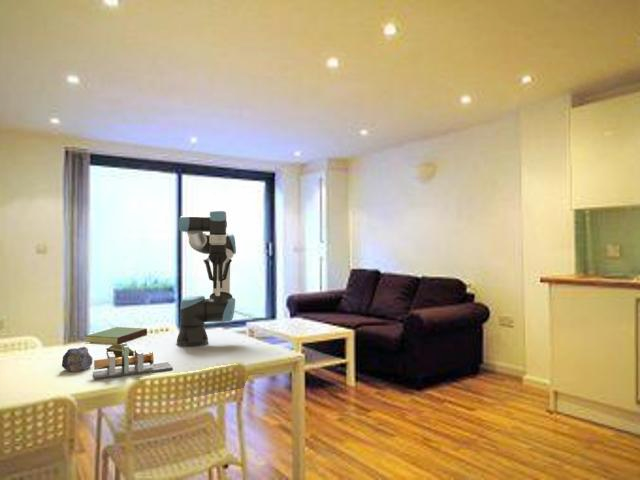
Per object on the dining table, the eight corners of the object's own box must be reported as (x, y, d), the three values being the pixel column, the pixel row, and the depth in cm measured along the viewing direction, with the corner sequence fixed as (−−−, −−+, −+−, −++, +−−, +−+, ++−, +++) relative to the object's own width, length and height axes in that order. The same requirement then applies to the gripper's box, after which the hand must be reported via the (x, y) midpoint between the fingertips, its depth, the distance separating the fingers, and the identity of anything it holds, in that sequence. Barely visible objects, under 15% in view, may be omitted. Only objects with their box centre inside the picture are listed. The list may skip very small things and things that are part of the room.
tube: (94, 370, 175) (94, 356, 175) (151, 363, 185) (151, 350, 185) (94, 373, 170) (95, 359, 170) (153, 366, 181) (153, 353, 181)
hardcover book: (118, 345, 228) (118, 337, 228) (85, 343, 232) (85, 335, 232) (147, 335, 252) (147, 328, 252) (117, 333, 256) (117, 326, 256)
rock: (67, 359, 189) (76, 339, 187) (90, 370, 189) (99, 350, 187) (51, 371, 178) (61, 351, 176) (76, 383, 179) (85, 363, 177)
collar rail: (92, 374, 176) (93, 345, 177) (167, 364, 190) (167, 338, 190) (94, 380, 169) (94, 350, 169) (172, 370, 183) (172, 342, 183)
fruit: (104, 365, 190) (104, 349, 190) (106, 358, 201) (106, 343, 201) (134, 362, 194) (134, 346, 194) (134, 355, 205) (134, 341, 205)
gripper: (206, 244, 204) (205, 297, 204) (234, 244, 211) (233, 295, 211) (201, 244, 211) (201, 295, 211) (228, 244, 217) (228, 293, 217)
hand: (217, 295), depth 211 cm, fingers closed
